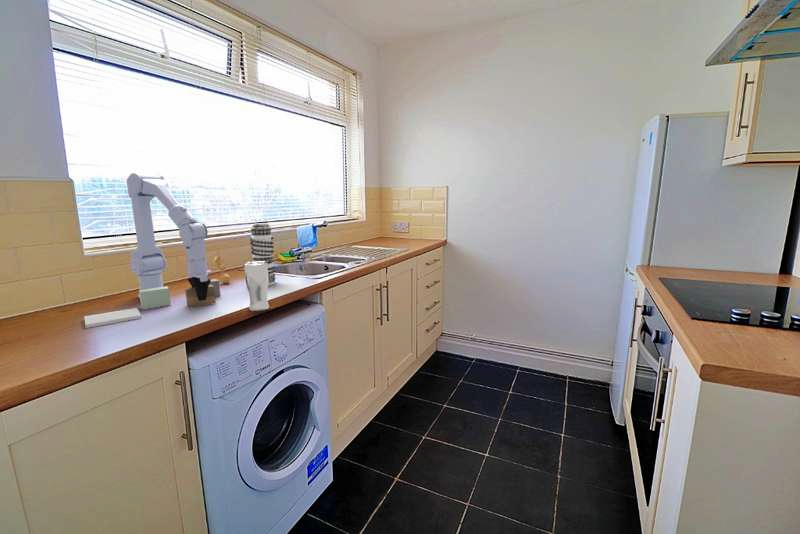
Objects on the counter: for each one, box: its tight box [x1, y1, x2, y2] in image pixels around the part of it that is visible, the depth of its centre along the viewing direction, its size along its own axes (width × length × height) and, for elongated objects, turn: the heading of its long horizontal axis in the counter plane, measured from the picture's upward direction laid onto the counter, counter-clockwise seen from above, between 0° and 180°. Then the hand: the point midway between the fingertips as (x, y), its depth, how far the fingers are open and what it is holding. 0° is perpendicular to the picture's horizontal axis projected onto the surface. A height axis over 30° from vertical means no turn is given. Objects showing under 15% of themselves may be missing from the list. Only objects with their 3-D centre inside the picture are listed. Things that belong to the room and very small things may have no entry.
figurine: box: [212, 254, 232, 285], centre depth 157 cm, size 8×6×12 cm
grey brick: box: [209, 278, 221, 298], centre depth 136 cm, size 4×8×6 cm, turn 131°
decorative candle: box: [249, 222, 276, 286], centre depth 155 cm, size 9×9×25 cm
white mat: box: [84, 307, 142, 329], centre depth 113 cm, size 10×13×1 cm
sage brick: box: [138, 285, 172, 310], centre depth 125 cm, size 4×8×6 cm, turn 131°
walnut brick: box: [184, 285, 217, 309], centre depth 127 cm, size 4×8×6 cm, turn 131°
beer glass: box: [244, 261, 270, 312], centre depth 121 cm, size 7×7×15 cm
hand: (201, 298), depth 127 cm, fingers closed on walnut brick, 3 cm apart
